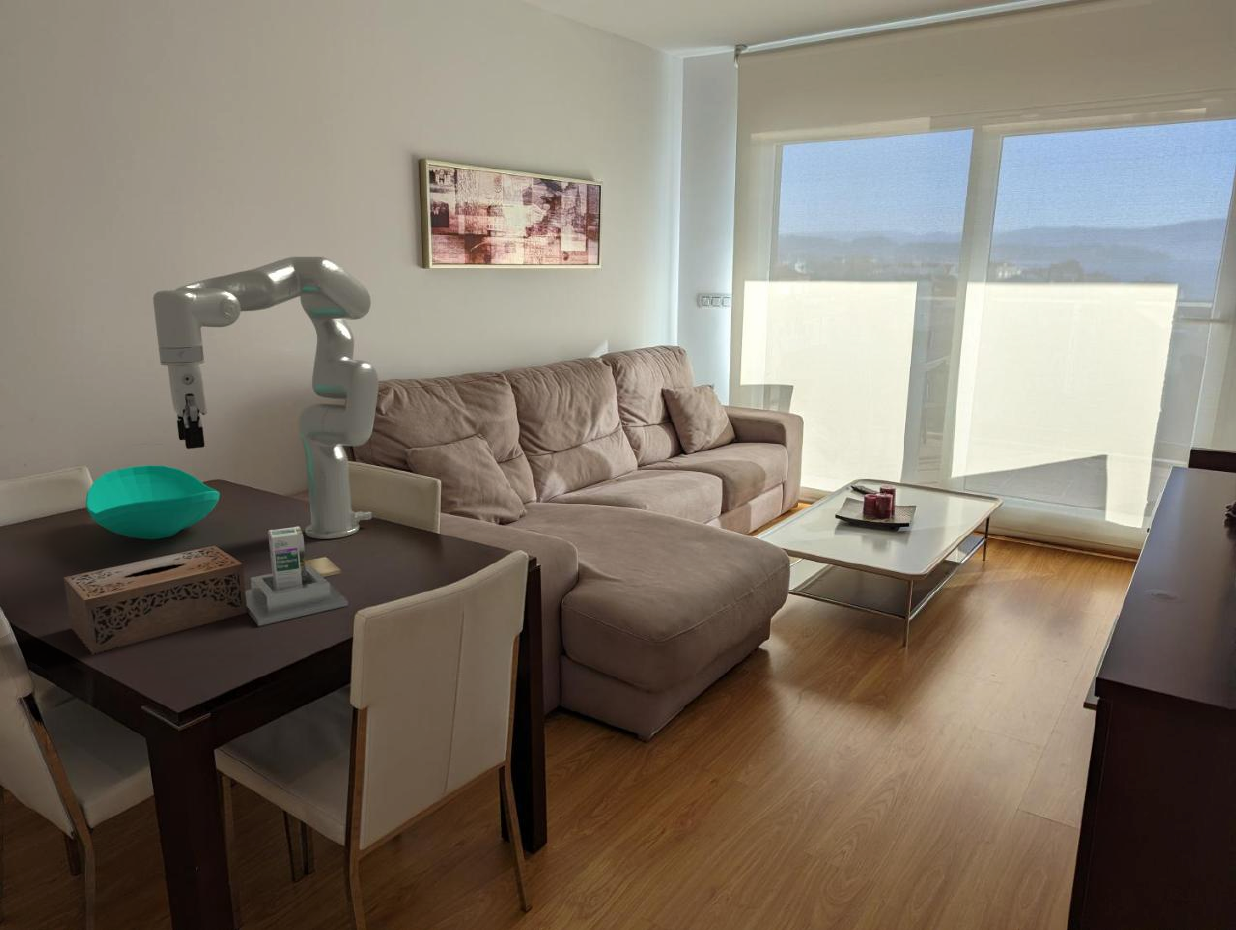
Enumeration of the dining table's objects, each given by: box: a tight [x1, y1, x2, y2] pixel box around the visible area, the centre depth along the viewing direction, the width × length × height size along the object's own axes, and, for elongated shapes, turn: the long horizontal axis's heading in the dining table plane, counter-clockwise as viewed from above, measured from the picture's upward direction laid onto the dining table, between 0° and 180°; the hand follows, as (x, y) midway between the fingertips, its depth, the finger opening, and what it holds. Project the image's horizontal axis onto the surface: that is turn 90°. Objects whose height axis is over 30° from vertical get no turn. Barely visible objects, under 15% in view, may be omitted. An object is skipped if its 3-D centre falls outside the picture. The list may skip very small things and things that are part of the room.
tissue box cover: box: [63, 545, 248, 654], centre depth 157 cm, size 26×14×10 cm, turn 134°
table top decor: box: [85, 464, 221, 540], centre depth 205 cm, size 40×28×13 cm
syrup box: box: [267, 525, 307, 591], centre depth 165 cm, size 6×6×14 cm
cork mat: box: [305, 556, 342, 578], centre depth 183 cm, size 10×10×1 cm
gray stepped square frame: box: [245, 566, 349, 627], centre depth 166 cm, size 16×16×4 cm
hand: (191, 443), depth 168 cm, fingers open, 9 cm apart
